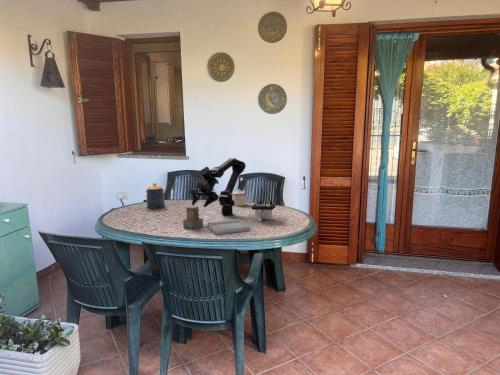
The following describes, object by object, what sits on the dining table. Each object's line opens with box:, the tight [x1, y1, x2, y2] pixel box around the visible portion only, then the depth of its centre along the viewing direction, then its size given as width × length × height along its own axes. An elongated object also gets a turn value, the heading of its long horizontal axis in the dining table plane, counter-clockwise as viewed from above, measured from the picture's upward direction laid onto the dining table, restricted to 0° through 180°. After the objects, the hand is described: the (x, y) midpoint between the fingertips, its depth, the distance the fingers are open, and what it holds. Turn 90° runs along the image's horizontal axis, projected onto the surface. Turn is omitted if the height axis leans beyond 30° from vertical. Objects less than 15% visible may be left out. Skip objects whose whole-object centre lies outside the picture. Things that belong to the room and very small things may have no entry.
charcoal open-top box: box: [182, 217, 204, 230], centre depth 227 cm, size 8×8×4 cm
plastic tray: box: [207, 218, 250, 236], centre depth 222 cm, size 20×17×2 cm
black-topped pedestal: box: [251, 199, 277, 222], centre depth 239 cm, size 28×26×13 cm
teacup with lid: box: [232, 188, 246, 207], centre depth 282 cm, size 12×9×12 cm
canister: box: [145, 182, 166, 209], centre depth 280 cm, size 13×13×18 cm
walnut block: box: [186, 205, 200, 221], centre depth 227 cm, size 5×5×12 cm
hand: (198, 206), depth 230 cm, fingers open, 9 cm apart
